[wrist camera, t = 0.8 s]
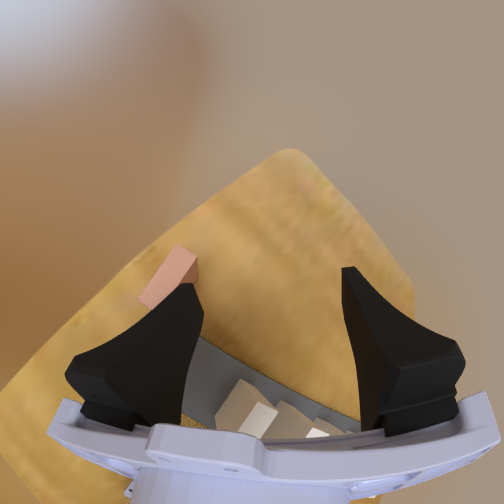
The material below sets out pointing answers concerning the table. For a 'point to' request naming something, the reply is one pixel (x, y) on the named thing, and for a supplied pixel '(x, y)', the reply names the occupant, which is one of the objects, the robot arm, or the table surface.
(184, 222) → the table surface
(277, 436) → the domino
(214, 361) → the mat
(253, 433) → the domino
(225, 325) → the table surface
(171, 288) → the domino
